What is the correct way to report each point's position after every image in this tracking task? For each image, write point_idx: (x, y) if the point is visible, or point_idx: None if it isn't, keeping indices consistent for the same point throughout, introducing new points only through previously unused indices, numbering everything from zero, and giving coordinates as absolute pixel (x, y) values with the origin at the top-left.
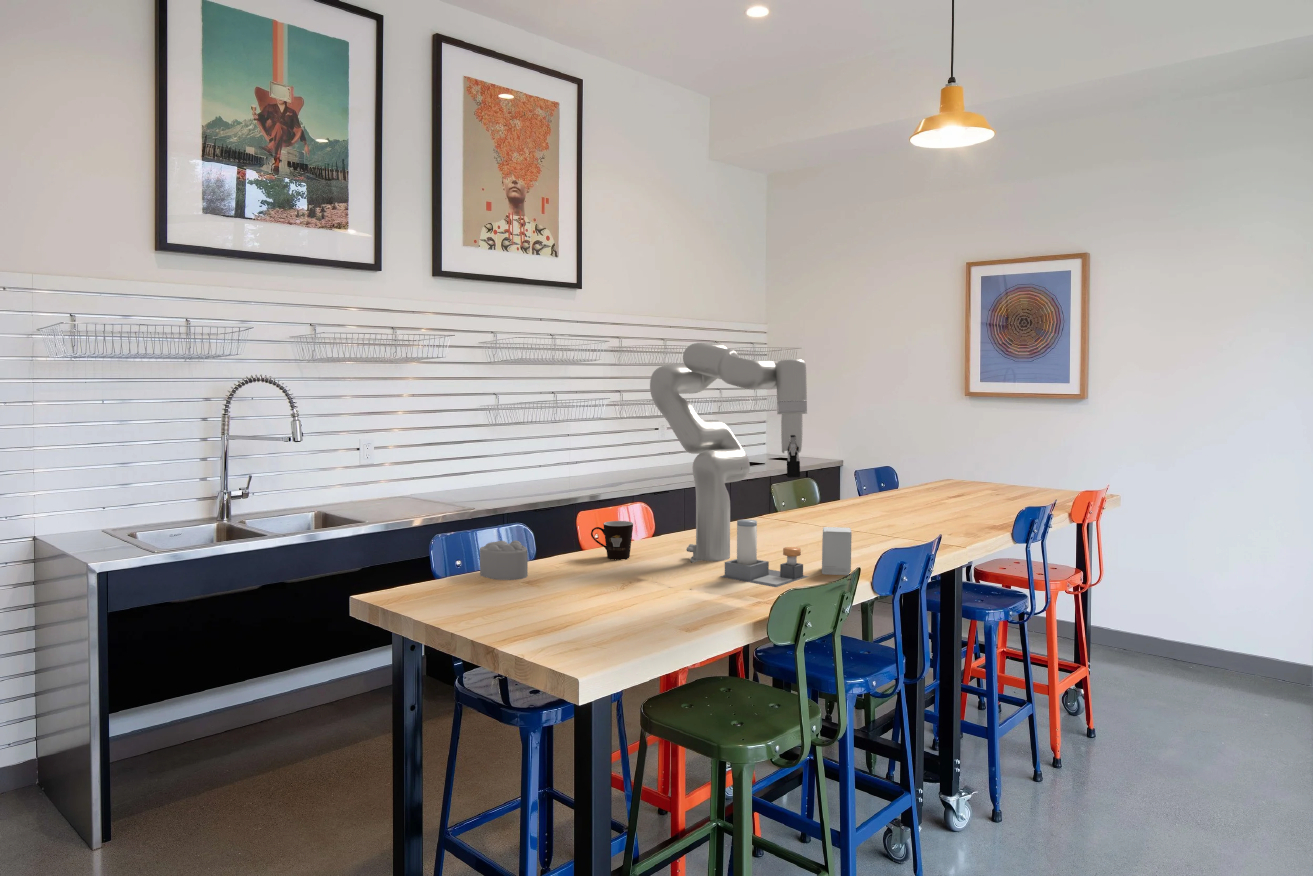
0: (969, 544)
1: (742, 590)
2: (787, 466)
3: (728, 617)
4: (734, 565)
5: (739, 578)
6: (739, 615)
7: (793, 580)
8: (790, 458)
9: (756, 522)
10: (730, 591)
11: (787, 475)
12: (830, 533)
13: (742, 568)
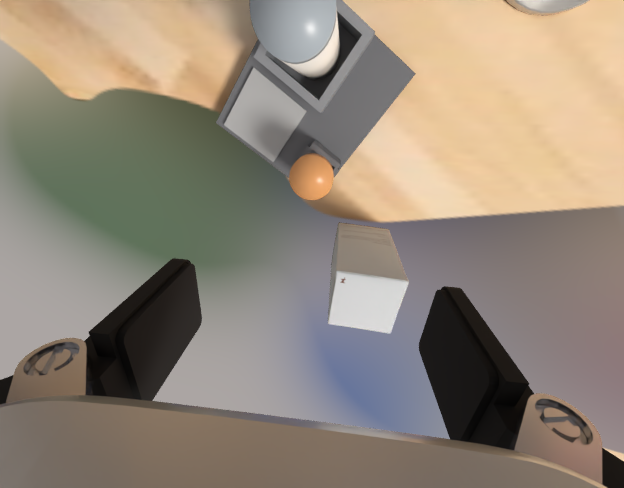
0: None
1: (231, 42)
2: (126, 304)
3: (20, 9)
4: None
5: None
6: (44, 35)
7: (277, 164)
8: (6, 382)
9: (282, 60)
10: (216, 8)
11: (169, 263)
12: (333, 283)
13: None
